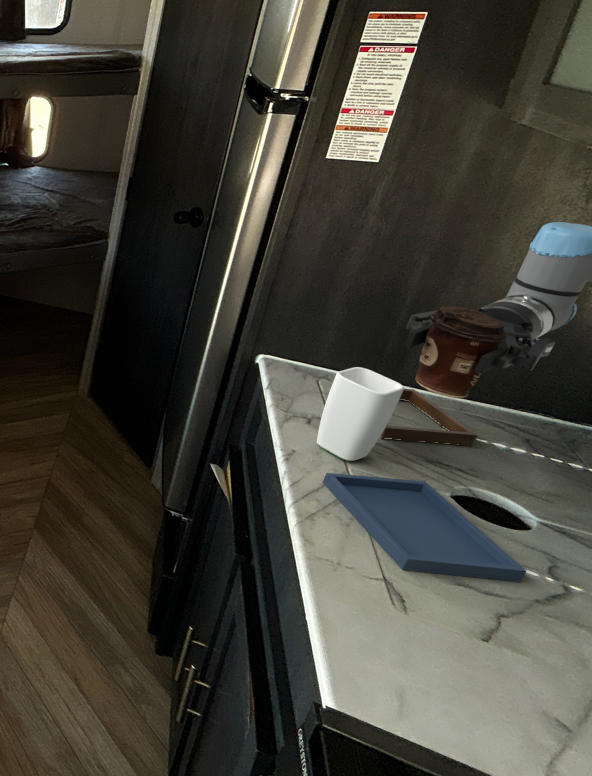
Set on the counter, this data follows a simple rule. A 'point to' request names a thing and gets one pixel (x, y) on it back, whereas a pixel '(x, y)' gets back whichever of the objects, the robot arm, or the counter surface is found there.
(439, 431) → the brown picture frame
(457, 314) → the coffee cup
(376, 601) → the counter surface
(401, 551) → the tray
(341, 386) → the cup
